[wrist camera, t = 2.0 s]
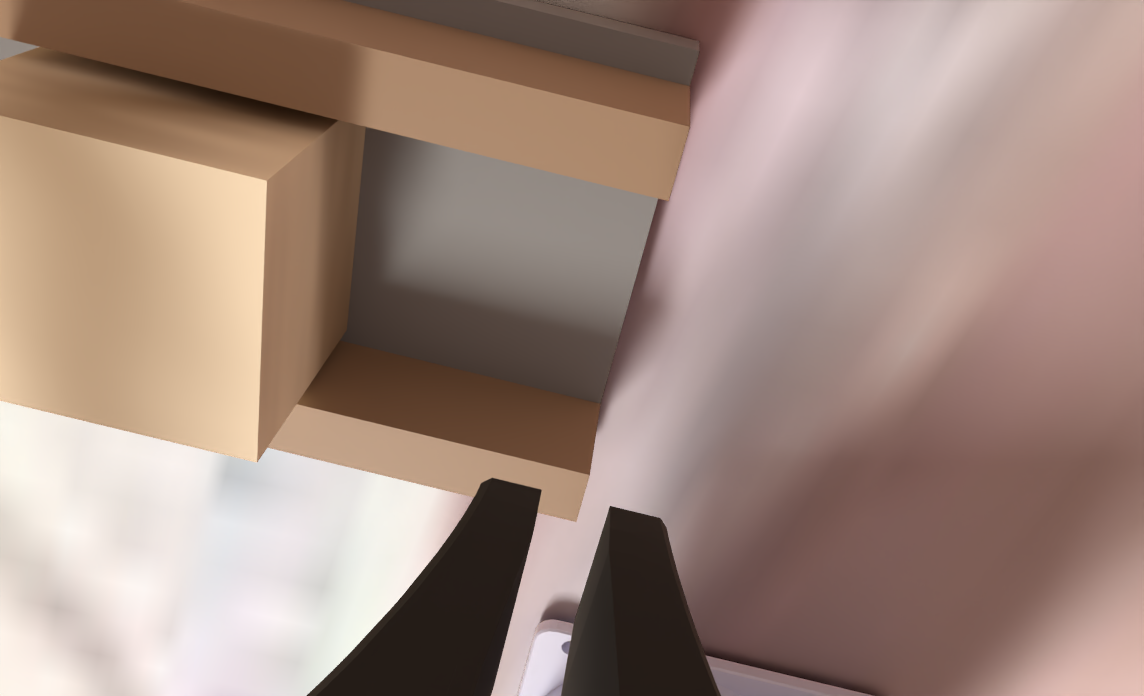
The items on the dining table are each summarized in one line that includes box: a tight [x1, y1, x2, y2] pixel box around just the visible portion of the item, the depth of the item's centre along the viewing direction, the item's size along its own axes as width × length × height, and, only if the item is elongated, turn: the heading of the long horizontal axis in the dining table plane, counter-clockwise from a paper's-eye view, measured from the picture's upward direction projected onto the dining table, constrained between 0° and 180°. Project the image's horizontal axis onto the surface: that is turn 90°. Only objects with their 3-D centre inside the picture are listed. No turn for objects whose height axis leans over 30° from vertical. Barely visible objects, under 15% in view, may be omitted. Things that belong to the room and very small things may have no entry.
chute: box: [0, 0, 700, 522], centre depth 17 cm, size 22×9×3 cm, turn 78°
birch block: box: [0, 47, 366, 462], centre depth 15 cm, size 5×5×4 cm
